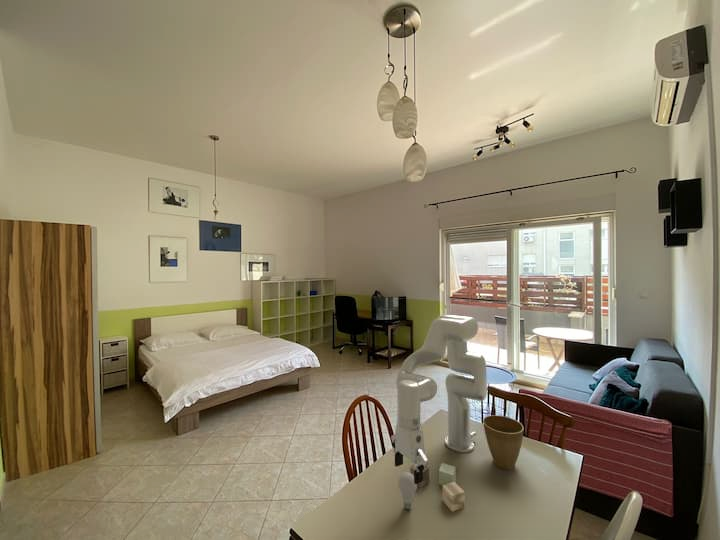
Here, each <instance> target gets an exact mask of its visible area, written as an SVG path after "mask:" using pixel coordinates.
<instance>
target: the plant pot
mask: <svg viewBox="0 0 720 540" xmlns="http://www.w3.org/2000/svg"><path fill="white" fill-rule="evenodd" d="M482 424H483V429H484V434H485V438H486V442H487V447H488V449H489V452H490V454H491V457H492V460H493V462H494V464H495V465H496V466H498V467H499V468H501V469H504V470H510V469H513V468H514V467H515V466H516V463H517V461H518V458H519V455H520V451H521V446H522V444H523V437H524V429H525V428H524V426H523V424H522V423H521V422H520V421H518V420H517V419H515V418H511V417H508V416H505V415H499V414H498V415H496V414H495V415H494V414H493V415H488V416H487V415H486V416H485V417H484V418H483V419H482Z"/></svg>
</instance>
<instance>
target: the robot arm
mask: <svg viewBox="0 0 720 540" xmlns="http://www.w3.org/2000/svg"><path fill="white" fill-rule="evenodd" d="M478 331H479V323H478V321H477V319H476V318H474V317H472V316H462V315H454V314H440V315H439V316H437V318H434V320H433V321H432V322H431V324H430V326H429V329H428V332H427V334H426V337H425V339H424V342H423V343H422V346H421V347H420V348H418V349H417V350H415V351H414V352H413V353H411V354H410V355H409V356H408V357H406V359H405V360H404V361H403V362H402V364H401V367H400V369H399V371H398V374H397V377H396V382H395V385H396V389H397V395H396V397H397V398H396V399H397V404H396V405H397V406H396V407H397V408H396V414H397V415H396V417H397V418H396V419H397V421H396V425H395V432H394V434H393V435H391V436H390V438H391V441H392V444H391V445H392V447H393V454H394V466H395V467H400V466H403V465H404V458H406V459H407V460H408V461H410V462H411V463H413V464H414V467H415V471H414V483H415V484H418V483H420V482H422V481H423V470H424V469H425V468H427V466H428V465H429V463H430V461H429V459H428V458H427V456H426V455H425V439H424V432H423V428H422V427H421V426H422V423H421V403H422V402H426V401H427V402H429V401H430V400H432V399H433V398H434V397H436V394H437V392H438V384H437V383H436V380H435V379H433V378H432V377H429V376H425V375H421V374H417V373H414V371H415V370H416V369H418V368H419V367H420V366H423V365H427V364H430V363H434V362H438V361H441V360H442V359H443V358H444V356H445V353H446V350H447V364H448V368H449V369H450V370H451V371H453V372H452V373H451V372H450V373H449V374H447V376H446V377H445V381H444V383H445V389H446V396H447V436H446V437H445V438H444V445H445V446H446V447H447V448H448V449H450V450H452V451H454V452H456V453H470V452H472V451H473V450H474V449H475V444H474V442H473V441H472V439H473V438H475V437H476V436H477V432H476V431H472V432H471V406H470V403H469V400H468V399H470V400H473V401H477V402H482V401H485V400H486V398H487V395H488V381H487V380H488V379H487V376H488V375H487V362H486V360H485V357H484V355H482V354H481V353H477V352H471V351H469V350H468V341H470V340H472V339H474V338H475V337H476V336H477V334H478ZM417 461H419V464H420V466H418V465H417ZM413 464H412V465H413Z"/></svg>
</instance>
